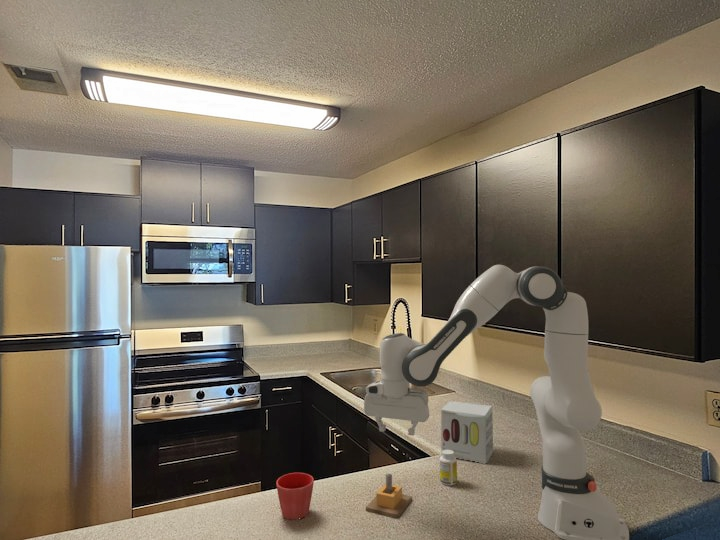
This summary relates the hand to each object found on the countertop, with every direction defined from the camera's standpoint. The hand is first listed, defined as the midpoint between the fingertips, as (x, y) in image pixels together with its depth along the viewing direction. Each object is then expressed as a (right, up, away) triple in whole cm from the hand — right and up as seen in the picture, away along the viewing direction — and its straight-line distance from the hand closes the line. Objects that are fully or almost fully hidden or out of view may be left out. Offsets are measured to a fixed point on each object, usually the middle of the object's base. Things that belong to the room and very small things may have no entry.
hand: (396, 432), depth 140 cm
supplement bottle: (+18, -22, +14) cm, 31 cm away
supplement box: (+30, -22, +37) cm, 52 cm away
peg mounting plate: (-2, -22, -1) cm, 22 cm away
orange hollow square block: (-2, -21, -1) cm, 21 cm away
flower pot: (-30, -22, -5) cm, 38 cm away
